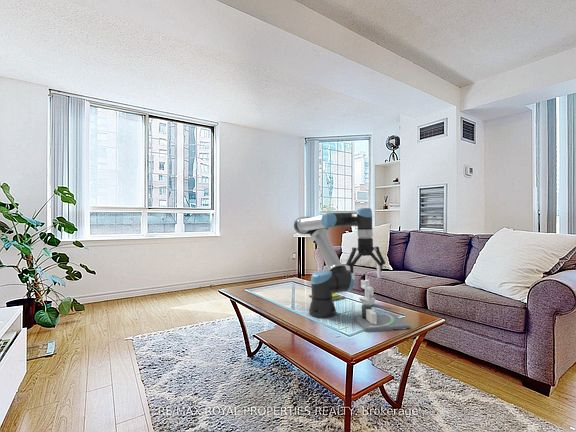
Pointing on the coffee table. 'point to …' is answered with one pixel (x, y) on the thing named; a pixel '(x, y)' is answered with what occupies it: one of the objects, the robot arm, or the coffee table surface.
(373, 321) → the white and grey lever
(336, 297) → the wooden puzzle
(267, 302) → the coffee table surface
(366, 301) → the white faucet
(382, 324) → the tuner board
